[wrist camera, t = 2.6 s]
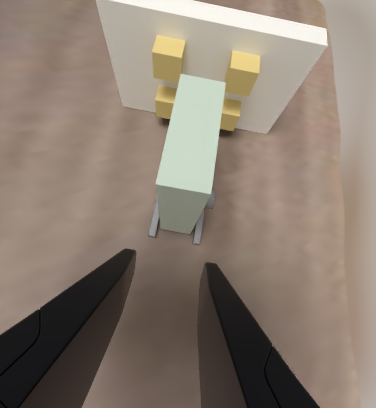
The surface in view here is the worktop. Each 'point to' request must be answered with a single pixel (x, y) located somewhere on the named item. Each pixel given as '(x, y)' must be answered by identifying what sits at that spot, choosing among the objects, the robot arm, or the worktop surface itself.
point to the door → (190, 153)
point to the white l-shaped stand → (207, 60)
